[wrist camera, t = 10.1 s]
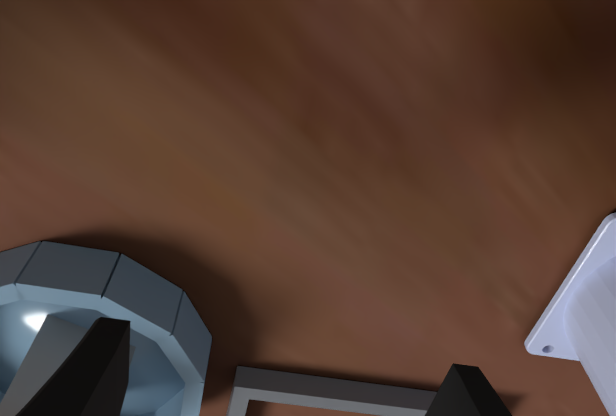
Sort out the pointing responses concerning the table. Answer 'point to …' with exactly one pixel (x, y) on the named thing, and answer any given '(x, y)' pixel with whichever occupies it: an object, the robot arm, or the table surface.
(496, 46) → the table surface
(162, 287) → the bowl
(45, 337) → the stone block
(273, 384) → the tray
